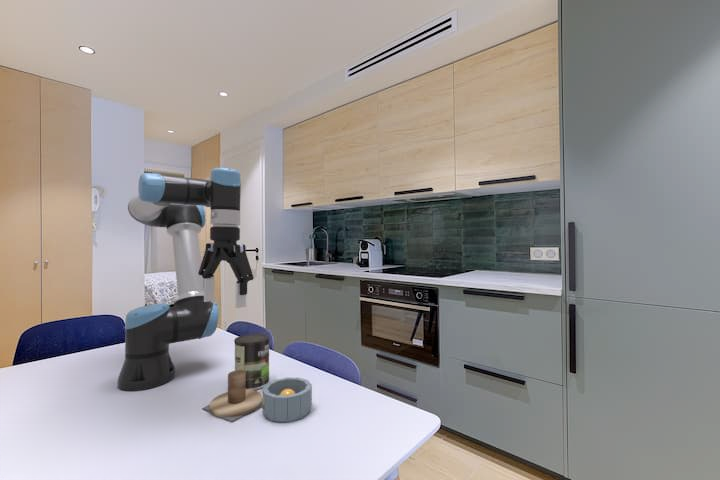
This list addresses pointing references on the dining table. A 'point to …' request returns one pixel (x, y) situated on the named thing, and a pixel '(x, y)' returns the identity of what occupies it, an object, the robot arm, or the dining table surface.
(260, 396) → the lid
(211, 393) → the dining table surface
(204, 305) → the robot arm
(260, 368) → the coffee can
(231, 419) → the mat
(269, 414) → the bowl
